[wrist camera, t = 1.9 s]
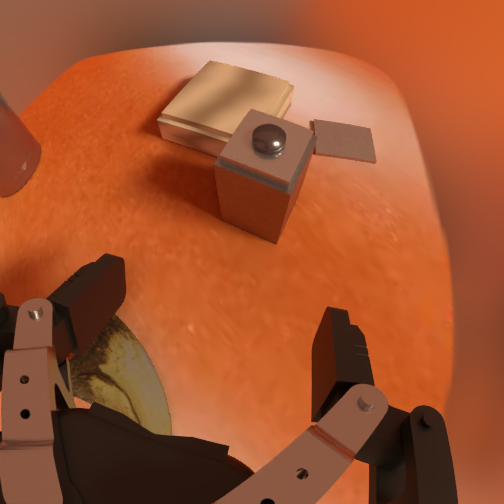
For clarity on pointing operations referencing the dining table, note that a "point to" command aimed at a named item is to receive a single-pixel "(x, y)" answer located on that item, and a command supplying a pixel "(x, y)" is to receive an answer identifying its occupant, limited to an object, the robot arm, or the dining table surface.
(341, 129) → the cover plate
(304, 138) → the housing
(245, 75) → the stand
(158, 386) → the claw
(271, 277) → the dining table surface
